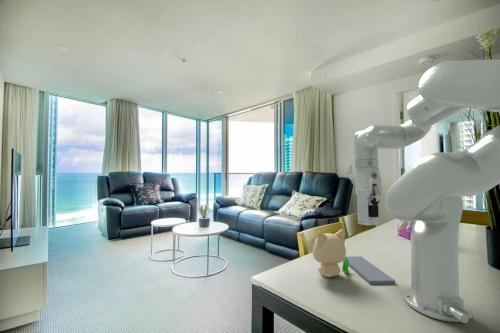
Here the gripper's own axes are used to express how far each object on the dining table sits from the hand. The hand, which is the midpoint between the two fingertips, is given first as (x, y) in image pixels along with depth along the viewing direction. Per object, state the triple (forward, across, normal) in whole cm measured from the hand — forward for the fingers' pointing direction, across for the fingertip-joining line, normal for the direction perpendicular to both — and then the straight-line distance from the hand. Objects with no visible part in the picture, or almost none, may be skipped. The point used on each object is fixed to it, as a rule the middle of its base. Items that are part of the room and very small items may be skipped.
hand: (367, 214), depth 81 cm
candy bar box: (+18, +39, -41) cm, 60 cm away
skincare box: (+3, 0, 0) cm, 3 cm away
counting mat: (+19, 0, +2) cm, 19 cm away
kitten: (+19, -4, +15) cm, 25 cm away
